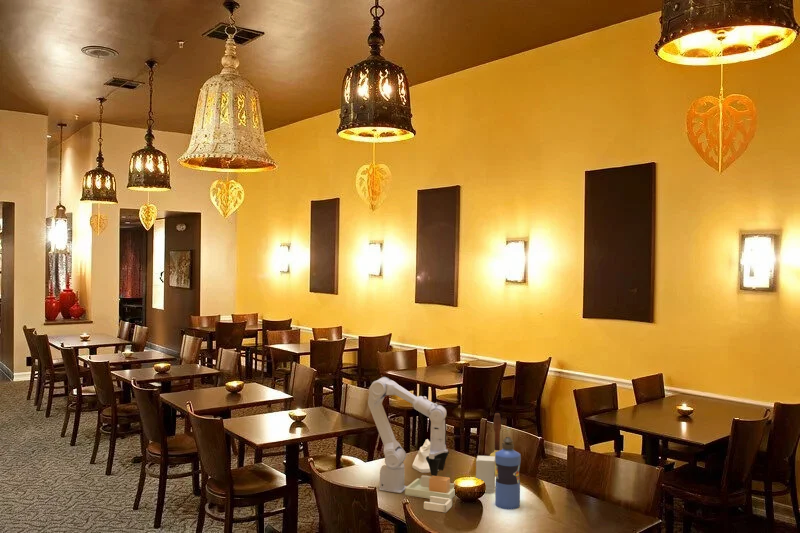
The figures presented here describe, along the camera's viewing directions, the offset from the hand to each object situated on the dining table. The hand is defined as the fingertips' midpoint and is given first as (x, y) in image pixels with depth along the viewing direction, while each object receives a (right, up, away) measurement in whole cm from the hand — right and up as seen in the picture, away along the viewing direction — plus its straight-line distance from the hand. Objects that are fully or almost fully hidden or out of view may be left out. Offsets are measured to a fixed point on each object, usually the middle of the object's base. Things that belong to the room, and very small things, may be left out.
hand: (437, 472), depth 256 cm
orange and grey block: (-1, -7, 0) cm, 8 cm away
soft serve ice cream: (-2, -9, +32) cm, 33 cm away
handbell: (+28, -9, +30) cm, 41 cm away
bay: (-1, -8, -15) cm, 17 cm away
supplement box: (+19, -9, +5) cm, 22 cm away
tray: (-2, -8, +1) cm, 8 cm away
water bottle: (+25, -9, -12) cm, 29 cm away
